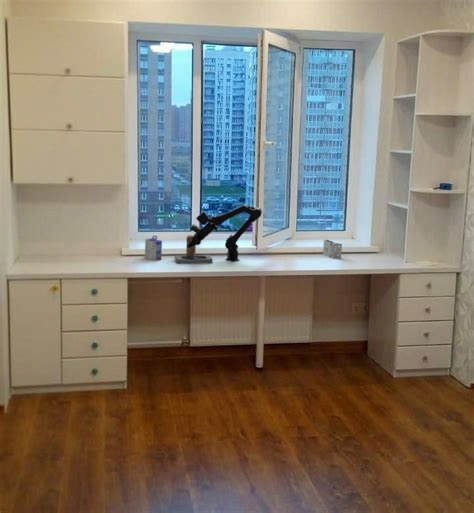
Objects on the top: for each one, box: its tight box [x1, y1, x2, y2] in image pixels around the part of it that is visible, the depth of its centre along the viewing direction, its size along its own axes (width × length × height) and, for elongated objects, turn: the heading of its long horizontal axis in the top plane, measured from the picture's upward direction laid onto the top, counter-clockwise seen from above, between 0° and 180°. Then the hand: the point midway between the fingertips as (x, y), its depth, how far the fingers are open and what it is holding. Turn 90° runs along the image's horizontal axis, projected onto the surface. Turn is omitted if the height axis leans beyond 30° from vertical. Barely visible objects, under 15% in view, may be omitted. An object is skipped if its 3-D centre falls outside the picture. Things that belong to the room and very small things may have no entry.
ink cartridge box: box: [144, 235, 163, 262], centre depth 401 cm, size 10×6×14 cm, turn 53°
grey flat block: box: [174, 254, 213, 264], centre depth 402 cm, size 22×9×2 cm, turn 104°
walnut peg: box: [185, 234, 197, 256], centre depth 411 cm, size 5×5×13 cm
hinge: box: [322, 239, 343, 259], centre depth 430 cm, size 14×5×10 cm, turn 41°
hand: (188, 245), depth 411 cm, fingers closed on walnut peg, 5 cm apart
